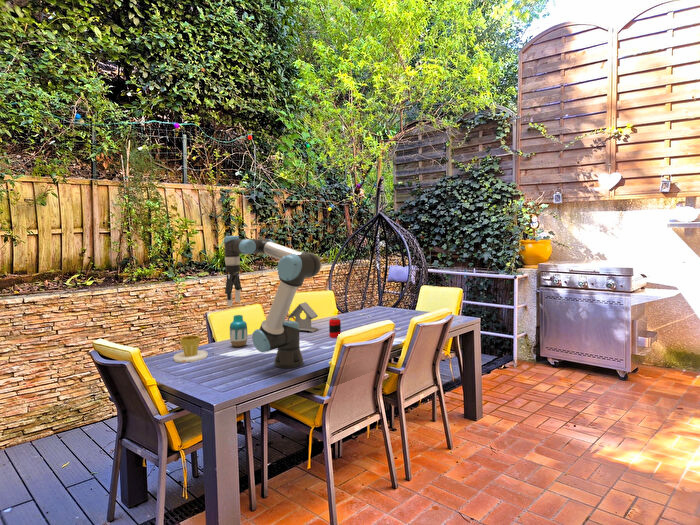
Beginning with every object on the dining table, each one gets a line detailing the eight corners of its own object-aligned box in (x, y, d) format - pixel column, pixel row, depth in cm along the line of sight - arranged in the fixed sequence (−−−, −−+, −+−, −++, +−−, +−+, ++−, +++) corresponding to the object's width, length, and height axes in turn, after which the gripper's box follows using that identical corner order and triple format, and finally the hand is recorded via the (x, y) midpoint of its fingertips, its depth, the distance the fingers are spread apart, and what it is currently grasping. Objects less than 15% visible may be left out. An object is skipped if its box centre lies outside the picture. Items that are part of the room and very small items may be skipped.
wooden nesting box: (318, 330, 307) (317, 302, 306) (311, 333, 299) (311, 304, 297) (295, 328, 314) (294, 301, 313) (288, 331, 306) (288, 303, 304)
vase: (226, 347, 264) (225, 316, 262) (236, 343, 274) (235, 313, 272) (241, 349, 260) (240, 317, 259) (251, 344, 270) (250, 314, 269)
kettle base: (200, 362, 234) (200, 359, 233) (167, 362, 234) (167, 359, 234) (212, 353, 252) (212, 350, 251) (182, 353, 252) (181, 350, 252)
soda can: (340, 335, 291) (340, 317, 291) (340, 337, 284) (340, 319, 283) (329, 335, 291) (329, 317, 290) (329, 338, 284) (329, 320, 283)
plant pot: (194, 357, 237) (193, 340, 236) (177, 356, 239) (176, 339, 238) (204, 352, 247) (203, 335, 246) (187, 351, 249) (187, 335, 248)
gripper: (232, 263, 244) (234, 300, 245) (217, 266, 219) (219, 307, 220) (246, 262, 243) (247, 300, 245) (232, 266, 219) (233, 307, 220)
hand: (234, 303), depth 233 cm, fingers open, 13 cm apart
